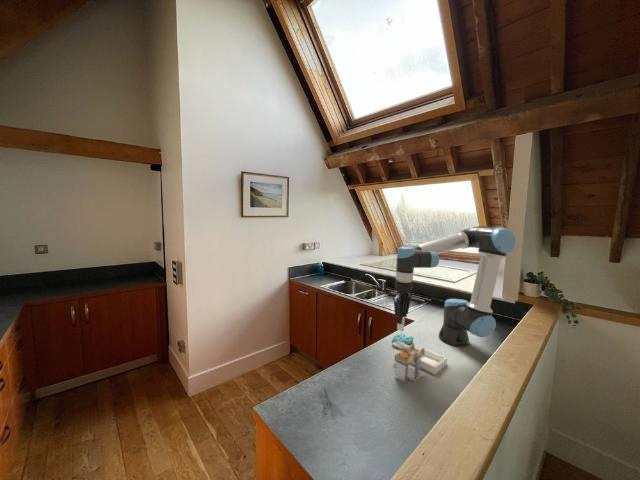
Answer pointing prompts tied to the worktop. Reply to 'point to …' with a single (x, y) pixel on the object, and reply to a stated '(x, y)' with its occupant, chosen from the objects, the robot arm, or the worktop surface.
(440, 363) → the dish
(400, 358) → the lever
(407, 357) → the ball
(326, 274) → the worktop surface
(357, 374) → the worktop surface
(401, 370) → the fulcrum
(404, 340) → the toy
